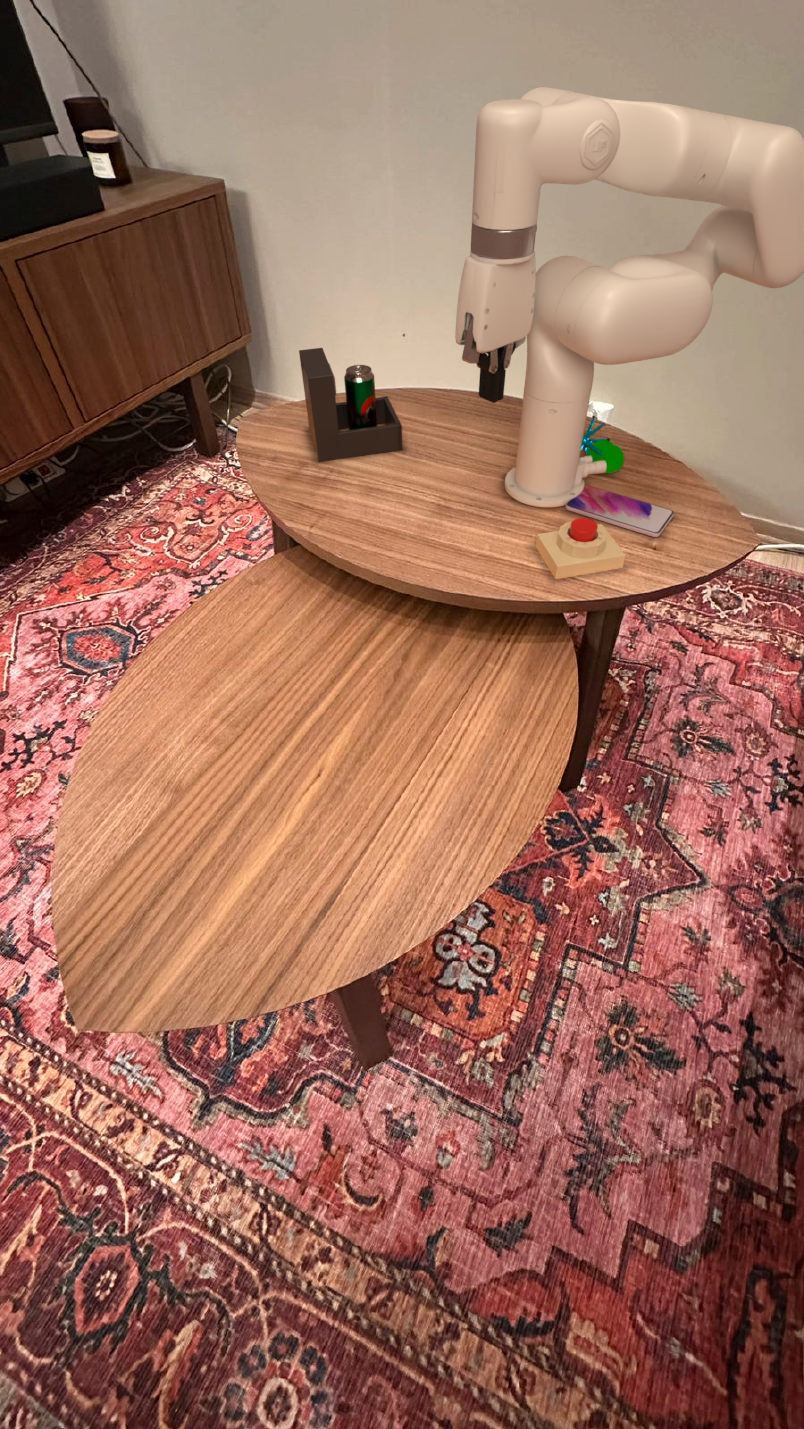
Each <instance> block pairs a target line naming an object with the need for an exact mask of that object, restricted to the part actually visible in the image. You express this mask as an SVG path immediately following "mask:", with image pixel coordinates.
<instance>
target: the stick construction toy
mask: <svg viewBox="0 0 804 1429" xmlns="http://www.w3.org/2000/svg"><path fill="white" fill-rule="evenodd" d="M591 417H592V419H591V421H590V423H589V426H588V428H587V429H586V431H585V433H584V434H583V440H582V445H581V451H580V453H582V450H583V449H584V452H585V456H592V462H594V461H601V460H605V462H606V464H607V469H606V472H605V473H604V474H614V473H617V472H619V471H620V470H621V469H622V468H624V464H625V454H624V451H623V450H622V448H621V447H619V445H617V444H614V443H613V442H612V441H611V438H609V437H607V438H591V437H592V436H593V435H595V434H596V433H597V432H599V430H601V429H602V428H603V427H606V426H607V424H606V422H602V423H600V424H599V425H598V426H596V427H595V428H594V429H593V427H594V423H595V420H596V416H595V415H594V414H593V415H592V416H591Z"/></svg>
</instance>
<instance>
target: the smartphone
mask: <svg viewBox="0 0 804 1429" xmlns="http://www.w3.org/2000/svg"><path fill="white" fill-rule="evenodd" d="M564 506H565V509H566V510H567V511H569V512H571V513H576V514H579V515H582V516H585V517H588V518H590V519H593V520H594V519H595V520H598V521H601V522H604V523H606V524H607V523H608V524H611V525H614V526H617V527H620V528H624V529H627V530H630V531H634V532H636V533H639V534H643V535H646V536H649V537H652V538H658V537H660V536H661V534H662V533H663V532H664V530H665V529H666V527H667V526H668V525H669V523H670V522H671V521H672V520H673V518H674V517H675V510H673V509H670V508H667V507H663V506H660V505H656V504H653V503H649V502H646V501H644V500H639V499H635V498H633V497H629V496H626V495H622V494H618V493H616V492H613V491H612V492H611V491H609V490H605V489H602V488H599V487H595V486H591V485H589V484H584V489H583V491H582V492H581V493H580V495H578V496H577V497H576V498H574V499H572V500H570V501H568V503H567V504H566V505H564Z"/></svg>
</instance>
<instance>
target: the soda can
mask: <svg viewBox="0 0 804 1429" xmlns="http://www.w3.org/2000/svg"><path fill="white" fill-rule="evenodd" d="M343 380H344V391H345V402H346V404H347V416H348V427H349V428H348V430H354V429H361V428H369V427H376V426H378V424H377V415H376V398H377V397H376V384H375V383H376V382H375V374H374V372H373V370H372V367H370V366H369V365H367V364H354V365H351V366H349V367H347V368H346V369H345V374H344V376H343Z"/></svg>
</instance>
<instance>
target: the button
mask: <svg viewBox="0 0 804 1429" xmlns="http://www.w3.org/2000/svg"><path fill="white" fill-rule="evenodd" d="M571 521H572V523H571V527H570V532H569V536H570V538H571V539H573V540H575V541H579V542H590V541H593V540H594V539H595V537H596V533H597V528H598V525H597V524H598V523H597V522H596V521H595V520H594V519H592V518H589V517H588V518H587V517H579V518H574V520H571Z"/></svg>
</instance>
